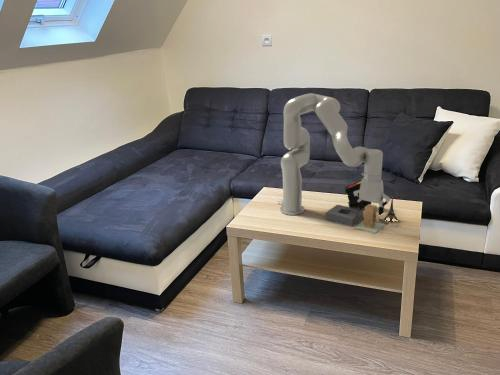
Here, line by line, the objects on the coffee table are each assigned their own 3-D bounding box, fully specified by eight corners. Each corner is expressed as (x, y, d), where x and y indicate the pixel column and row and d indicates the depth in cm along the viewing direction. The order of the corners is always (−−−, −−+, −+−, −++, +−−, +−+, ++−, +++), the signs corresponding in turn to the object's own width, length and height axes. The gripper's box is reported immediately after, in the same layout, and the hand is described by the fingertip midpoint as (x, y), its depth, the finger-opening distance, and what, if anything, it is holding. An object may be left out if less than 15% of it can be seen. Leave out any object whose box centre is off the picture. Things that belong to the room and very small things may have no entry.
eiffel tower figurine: (378, 213, 217) (380, 189, 212) (399, 215, 214) (401, 190, 209) (379, 226, 203) (380, 200, 198) (401, 228, 200) (403, 201, 196)
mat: (355, 228, 201) (355, 227, 201) (364, 220, 208) (364, 219, 208) (375, 233, 195) (375, 232, 195) (384, 225, 202) (384, 224, 202)
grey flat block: (325, 219, 211) (325, 212, 210) (337, 211, 220) (337, 204, 218) (352, 226, 203) (352, 218, 201) (362, 217, 211) (363, 210, 210)
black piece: (377, 205, 221) (365, 181, 217) (353, 215, 224) (341, 191, 220) (376, 203, 224) (364, 178, 220) (352, 212, 228) (340, 188, 224)
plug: (363, 226, 201) (364, 206, 198) (367, 223, 204) (368, 204, 200) (371, 228, 199) (373, 208, 195) (375, 225, 202) (376, 205, 198)
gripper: (351, 175, 195) (349, 210, 201) (388, 182, 185) (385, 218, 191) (358, 171, 201) (356, 205, 207) (394, 177, 191) (391, 213, 196)
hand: (370, 211), depth 199 cm, fingers open, 9 cm apart
